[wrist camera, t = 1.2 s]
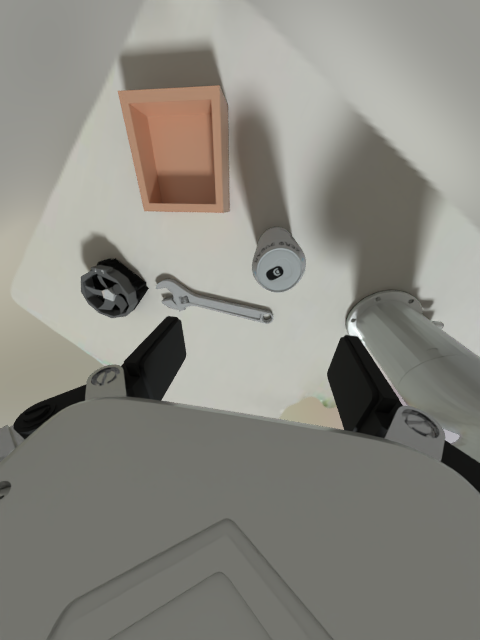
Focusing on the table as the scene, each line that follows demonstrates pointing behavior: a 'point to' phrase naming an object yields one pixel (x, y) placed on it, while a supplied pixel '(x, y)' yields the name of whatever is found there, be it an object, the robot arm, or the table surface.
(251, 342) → the table surface
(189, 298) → the adjustable wrench
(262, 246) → the energy drink can
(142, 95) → the bin
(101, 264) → the cpu cooler
